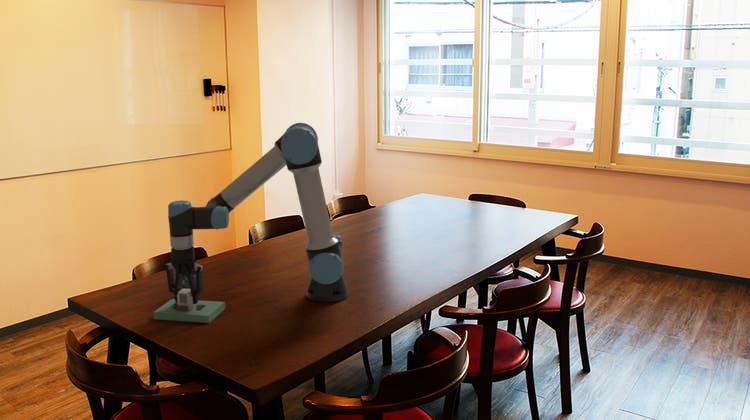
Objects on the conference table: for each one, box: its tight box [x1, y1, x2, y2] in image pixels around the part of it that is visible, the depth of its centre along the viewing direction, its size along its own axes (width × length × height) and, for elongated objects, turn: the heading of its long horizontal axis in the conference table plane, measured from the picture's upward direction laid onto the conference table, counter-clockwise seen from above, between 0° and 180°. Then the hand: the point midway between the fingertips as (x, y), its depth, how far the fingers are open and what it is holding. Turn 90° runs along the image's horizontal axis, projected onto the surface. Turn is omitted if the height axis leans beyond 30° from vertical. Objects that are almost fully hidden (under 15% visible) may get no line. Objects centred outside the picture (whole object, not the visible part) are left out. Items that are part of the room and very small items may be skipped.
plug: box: [178, 288, 191, 310], centre depth 235 cm, size 4×4×8 cm
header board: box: [153, 298, 226, 324], centre depth 235 cm, size 20×13×4 cm, turn 79°
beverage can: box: [181, 267, 200, 296], centre depth 252 cm, size 7×7×12 cm
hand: (187, 311), depth 236 cm, fingers closed on plug, 4 cm apart
